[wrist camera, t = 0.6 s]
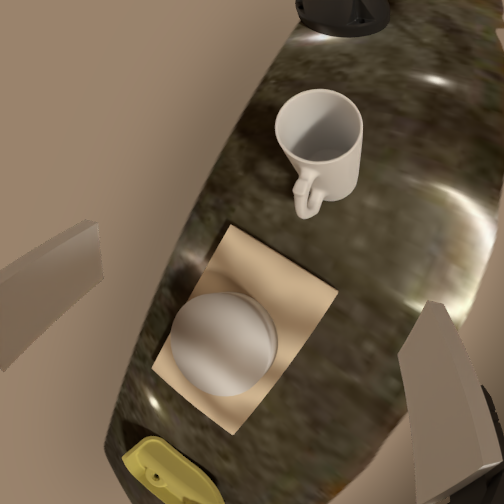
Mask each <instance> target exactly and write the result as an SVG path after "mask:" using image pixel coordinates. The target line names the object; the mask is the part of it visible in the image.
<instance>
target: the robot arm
mask: <svg viewBox="0 0 504 504" xmlns="http://www.w3.org/2000/svg"><path fill="white" fill-rule="evenodd" d="M295 4H296V9H297V12H298V15H299V18H300V19H301V21H302V22H303V23H304V24H305V25H306V26H308V27H309V28H311V29H313V30H315V31H318V32H320V33H324V34H327V35H332V36H339V37H360V36H366V35H371V34H374V33H376V32H379V31H381V30H382V29H384V28H385V27H386V26H387V25H388V23H389V21H390V5H389V2H388V0H296V3H295ZM103 279H104V276H103V268H102V260H101V251H100V241H99V230H98V223H97V222H93V221H89V220H84V221H82V222H80V223H78V224H76V225H74V226H73V227H71V228H69V229H67V230H66V231H64V232H62V233H60V234H58V235H57V236H55V237H53V238H51V239H50V240H48V241H46V242H45V243H43V244H41V245H40V246H38V247H36V248H35V249H33V250H31V251H30V252H28V253H27V254H25V255H23V256H22V257H20V258H19V259H17V260H16V261H14V262H13V263H11V264H9V265H8V266H6V267H5V268H3V269H2V270H0V369H1V370H2V371H3V372H4V371H6V369H7V368H8V367H9V366H10V365H11V364H12V363H13V362H14V361H15V360H16V359H17V358H18V357H19V356H20V355H21V354H22V353H23V352H24V351H25V350H26V349H27V348H28V347H29V346H30V345H31V344H32V343H33V342H34V341H35V340H36V339H37V338H38V337H39V336H40V335H42V334H43V333H44V332H45V331H46V330H47V329H48V328H49V327H50V326H51V325H52V324H53V323H54V322H55V321H57V319H59V318H60V317H61V316H62V315H63V314H64V313H65V312H66V311H67V310H69V309H70V308H71V307H72V306H73V305H74V304H75V303H76V302H78V301H79V300H80V299H81V298H82V297H83V296H84V295H86V294H87V293H88V292H89V291H90V290H91V289H93V288H94V287H95V286H96V285H97V284H98V283H100V282H101V281H102V280H103ZM398 359H399V364H400V368H401V373H402V378H403V384H404V389H405V395H406V401H407V407H408V413H409V419H410V428H411V436H412V444H413V454H414V466H415V482H416V504H434V503H438V502H440V501H441V500H443V499H445V498H447V497H449V496H450V502H449V503H447V504H504V436H503V432H502V428H501V425H500V423H498V421H499V419H498V415H497V413H496V412H495V406H494V404H493V401H492V398H491V396H490V395H489V393H488V392H487V390H486V389H485V388H484V386H483V385H480V383H479V380H478V378H477V375H476V373H475V370H474V368H473V366H472V363H471V361H470V358H469V356H468V354H467V352H466V349H465V347H464V345H463V343H462V340H461V338H460V336H459V334H458V332H457V330H456V328H455V326H454V324H453V322H452V320H451V318H450V316H449V314H448V312H447V310H446V308H445V306H444V304H442V303H437V302H433V301H428V300H427V302H426V304H425V306H424V308H423V310H422V312H421V314H420V316H419V318H418V320H417V322H416V323H415V325H414V327H413V329H412V331H411V332H410V334H409V336H408V338H407V339H406V341H405V343H404V345H403V346H402V348H401V350H400V351H399V353H398Z"/></svg>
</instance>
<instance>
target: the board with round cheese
mask: <svg viewBox="0 0 504 504" xmlns="http://www.w3.org/2000/svg"><path fill="white" fill-rule="evenodd" d="M338 292H339V291H338V290H336V289H335V288H333V287H332V286H330V285H329V284H327V283H325V282H324V281H322V280H321V279H319V278H317V277H316V276H314V275H313V274H311V273H310V272H308V271H306V270H305V269H303V268H302V267H300V266H298V265H297V264H295V263H294V262H292V261H290V260H289V259H287V258H286V257H284V256H282V255H281V254H279V253H278V252H276V251H274V250H273V249H271V248H270V247H268V246H266V245H265V244H263V243H262V242H260V241H258V240H257V239H255V238H253V237H252V236H250V235H249V234H247V233H245V232H244V231H242V230H240V229H239V228H237V227H236V226H233V225H230V226H229V228H228V230H227V232H226V233H225V235H224V237H223V239H222V240H221V242H220V244H219V246H218V247H217V249H216V251H215V253H214V254H213V256H212V258H211V260H210V261H209V263H208V265H207V267H206V268H205V270H204V272H203V274H202V276H201V277H200V279H199V281H198V283H197V285H196V286H195V288H194V290H193V292H192V294H191V295H190V297H189V299H188V301H187V303H186V304H185V305H183V307H182V308H181V309H180V310H179V312H178V313H177V315H176V317H175V319H174V321H173V325H172V329H171V332H170V334H169V336H168V338H167V340H166V342H165V344H164V346H163V347H162V349H161V351H160V353H159V355H158V357H157V359H156V361H155V363H154V365H153V367H152V369H153V370H154V371H155V372H156V373H157V374H158V375H159V376H160V377H161V378H163V379H164V380H165V381H166V382H167V383H168V384H169V385H170V386H171V387H173V388H174V389H175V390H176V391H177V392H178V393H180V394H181V395H182V396H183V397H184V398H185V399H187V400H188V401H189V402H190V403H191V404H193V405H194V406H195V407H196V408H198V409H199V410H200V411H201V412H203V413H204V414H205V415H206V416H208V417H209V418H210V419H212V420H213V421H214V422H216V423H217V424H218V425H220V426H221V427H222V428H224V429H225V430H226V431H228V432H229V433H231V434H232V435H234V433H235V432H236V431H237V430H238V429H239V428H240V426H241V425H242V424H243V423H244V422H245V421H246V419H247V418H248V417H249V416H250V414H251V413H252V412H253V411H254V410H255V408H256V407H257V406H258V405H259V403H260V402H261V401H262V400H263V398H264V397H265V396H266V395H267V393H268V392H269V391H270V389H271V388H272V387H273V386H274V384H275V383H276V382H277V380H278V379H279V378H280V376H281V375H282V374H283V372H284V371H285V370H286V368H287V367H288V366H289V364H290V363H291V362H292V360H293V359H294V357H295V356H296V355H297V353H298V352H299V350H300V349H301V348H302V346H303V345H304V343H305V342H306V341H307V339H308V338H309V336H310V335H311V333H312V332H313V330H314V329H315V327H316V326H317V324H318V323H319V321H320V320H321V318H322V317H323V315H324V314H325V312H326V311H327V309H328V308H329V306H330V305H331V303H332V302H333V300H334V298H335V297H336V295H337V294H338Z"/></svg>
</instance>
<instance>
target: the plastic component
mask: <svg viewBox="0 0 504 504" xmlns="http://www.w3.org/2000/svg"><path fill="white" fill-rule="evenodd" d="M122 460H123V462H124V464H125V466H126V467H127V469H128V470H129V471H130V472H131V474H132V475H133V476H134V477H135V478H136V479H137V480H139V481H140V482H141V483H142V484H143V485H144V486H145V487H146V488H147V489H149V490H150V491H151V492H152V493H153V494H154V495H156V496H157V497H158V498H159V499H160V500H162V501H163V502H164V503H165V504H225V503H224V500H223V498H222V496H221V494H220V492H219V491H218V489H217V487H216V486H215V484H214V483H213V482H212V481H211V479H210V478H209V477H208V476H207V475H206V474H205V473H204V472H203V471H202V470H201V469H200V468H198V467H197V466H196V465H194V464H193V463H192V462H191V461H189V460H188V459H187V458H185V457H184V456H183V455H182V454H180V453H179V452H178V451H177V450H176V449H174V448H173V447H172V446H171V445H170V444H168V443H167V442H166V441H165V440H164V439H162V438H160V437H157V436H149V437H146V438H144V439H142V440H141V441H140V442H139V443H138V444H136V445H135V446H134V447H133V448H132V449H131V450H129V451H128V452H127V453H126V454H125V455H124V456H123V457H122ZM156 474H157V475H158V476H159V477H158V476H157V475H156Z"/></svg>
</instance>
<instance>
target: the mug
mask: <svg viewBox="0 0 504 504" xmlns="http://www.w3.org/2000/svg"><path fill="white" fill-rule="evenodd" d="M275 133H276V137H277V140H278V142H279V144H280V146H281V147H282V149H283V151H284V152H285V154H286V156H287V157H288V159H289V160H290V162H291V163H292V165H293V167H294V168H295V170H296V171H297V173H298V175H299V178H298V180H297V181H296V183H295V185H294V187H293V190H292V191H293V193H294V202H295V209H296V213H297V215H298V216H299V217H300V218H302V219H308V218H310V217H312V216H314V215H316V214H317V213H318V211H319V209H320V206H321V203H322V201H323V200H325V201H337V200H340V199H343V198H345V197H346V196H348V195H349V194H350V193H351V192H352V191H353V189H354V188H355V186H356V183H357V179H358V173H359V165H360V156H361V147H362V135H363V122H362V118H361V115H360V112H359V110H358V109H357V107H356V106H355V105H354V103H353V102H352V101H351V100H349V99H348V98H347V97H345V96H344V95H342V94H340V93H338V92H335V91H332V90H327V89H313V90H308V91H304V92H301V93H299V94H297V95H295V96H293V97H292V98H291V99H289V100H288V101H287V102H286V103H285V104H284V105H283V106H282V108H281V109H280V111H279V113H278V115H277V118H276V122H275ZM309 191H310V193H311V194H310V197H309V200H308V202H307V199H308V195H309Z"/></svg>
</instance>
